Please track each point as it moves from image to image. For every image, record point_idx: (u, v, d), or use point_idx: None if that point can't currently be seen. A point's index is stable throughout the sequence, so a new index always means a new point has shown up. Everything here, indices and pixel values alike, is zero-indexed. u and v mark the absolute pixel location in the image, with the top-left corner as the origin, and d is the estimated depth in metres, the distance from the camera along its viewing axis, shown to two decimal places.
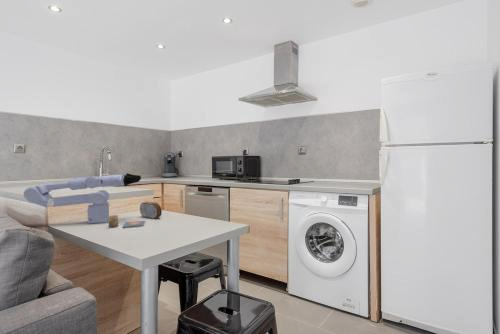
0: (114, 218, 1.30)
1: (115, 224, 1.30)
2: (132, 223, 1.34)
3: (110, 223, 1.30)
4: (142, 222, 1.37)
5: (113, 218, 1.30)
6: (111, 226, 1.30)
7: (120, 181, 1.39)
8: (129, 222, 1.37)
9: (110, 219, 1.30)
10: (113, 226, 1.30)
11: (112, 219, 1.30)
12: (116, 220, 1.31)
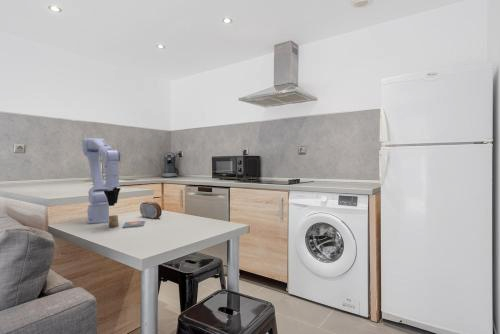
0: (114, 218, 1.30)
1: (115, 224, 1.30)
2: (132, 223, 1.34)
3: (110, 223, 1.30)
4: (142, 222, 1.37)
5: (113, 218, 1.30)
6: (111, 226, 1.30)
7: None
8: (129, 222, 1.37)
9: (110, 219, 1.30)
10: (113, 226, 1.30)
11: (112, 219, 1.30)
12: (116, 220, 1.31)
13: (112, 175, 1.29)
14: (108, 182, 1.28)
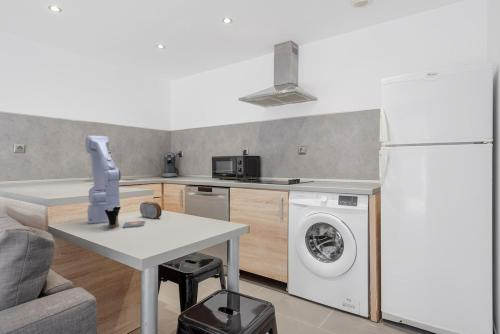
0: None
1: (115, 224, 1.30)
2: (132, 223, 1.34)
3: None
4: (142, 222, 1.37)
5: None
6: (111, 226, 1.30)
7: None
8: (129, 222, 1.37)
9: None
10: (113, 226, 1.30)
11: None
12: (116, 220, 1.31)
13: (112, 195, 1.29)
14: (108, 202, 1.29)
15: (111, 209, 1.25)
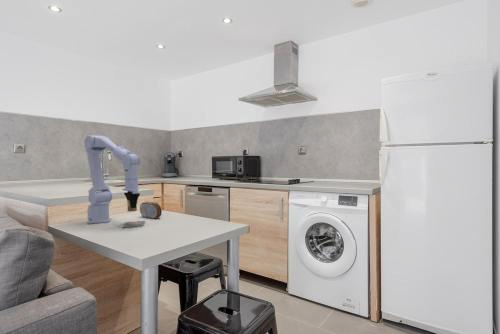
0: None
1: (135, 208, 1.33)
2: (132, 223, 1.34)
3: (130, 207, 1.32)
4: (142, 222, 1.37)
5: None
6: (131, 210, 1.32)
7: None
8: (129, 222, 1.37)
9: None
10: (133, 210, 1.32)
11: None
12: None
13: (134, 179, 1.32)
14: (129, 186, 1.31)
15: (136, 192, 1.28)
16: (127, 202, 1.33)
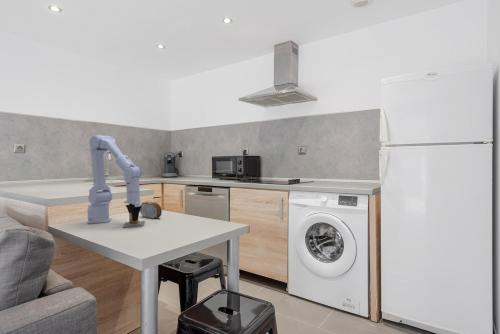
0: None
1: None
2: None
3: None
4: (142, 222, 1.37)
5: None
6: (133, 222, 1.32)
7: None
8: None
9: None
10: (135, 222, 1.33)
11: None
12: None
13: (135, 191, 1.32)
14: (131, 198, 1.31)
15: (138, 205, 1.29)
16: (129, 215, 1.33)
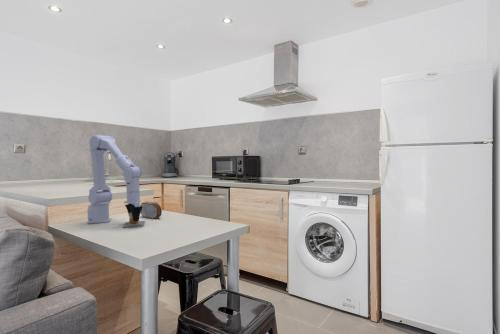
0: None
1: None
2: None
3: (132, 220, 1.32)
4: (142, 222, 1.37)
5: None
6: (133, 222, 1.32)
7: None
8: None
9: None
10: (135, 222, 1.33)
11: None
12: None
13: (135, 191, 1.32)
14: (131, 198, 1.31)
15: (138, 205, 1.29)
16: (129, 215, 1.33)
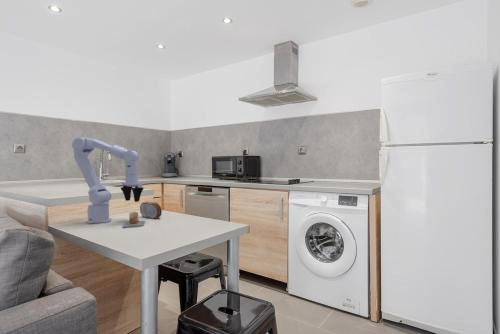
0: (136, 214, 1.33)
1: (137, 220, 1.34)
2: None
3: (132, 220, 1.32)
4: (142, 222, 1.37)
5: (135, 214, 1.33)
6: (133, 222, 1.32)
7: None
8: None
9: (132, 216, 1.32)
10: (135, 222, 1.33)
11: (134, 216, 1.33)
12: (137, 216, 1.34)
13: (136, 174, 1.41)
14: (132, 180, 1.40)
15: (141, 186, 1.39)
16: (129, 215, 1.33)
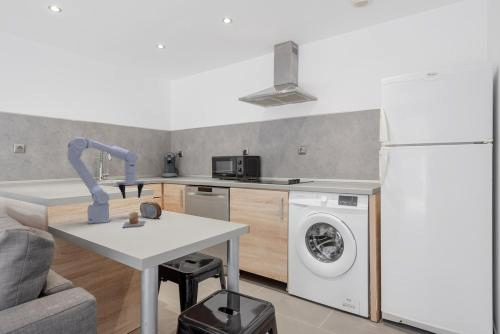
0: (136, 214, 1.33)
1: (137, 220, 1.34)
2: None
3: (132, 220, 1.32)
4: (142, 222, 1.37)
5: (135, 215, 1.33)
6: (133, 222, 1.32)
7: None
8: None
9: (132, 216, 1.32)
10: (135, 222, 1.33)
11: (134, 216, 1.33)
12: (137, 216, 1.34)
13: None
14: (135, 178, 1.52)
15: None
16: (129, 215, 1.33)
